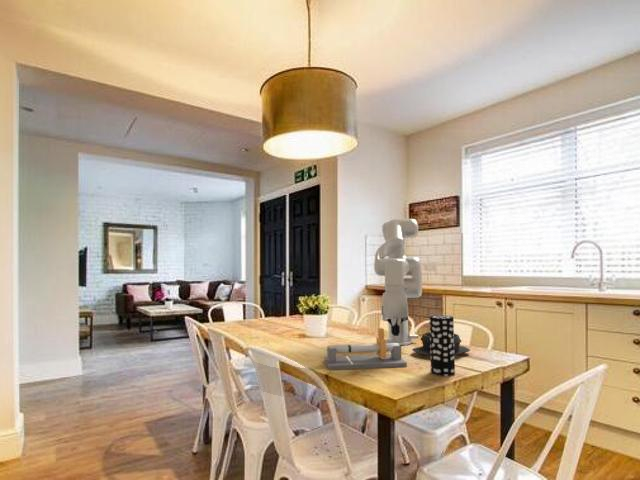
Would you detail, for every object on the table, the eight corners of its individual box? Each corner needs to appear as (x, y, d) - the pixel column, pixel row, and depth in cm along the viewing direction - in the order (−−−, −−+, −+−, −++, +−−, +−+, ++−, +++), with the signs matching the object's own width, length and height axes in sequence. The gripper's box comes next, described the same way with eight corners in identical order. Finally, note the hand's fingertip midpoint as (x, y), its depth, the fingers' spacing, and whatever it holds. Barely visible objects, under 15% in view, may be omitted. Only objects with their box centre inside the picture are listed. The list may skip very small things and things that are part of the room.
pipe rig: (395, 357, 164) (395, 339, 165) (406, 366, 150) (406, 346, 151) (324, 360, 161) (324, 341, 161) (329, 369, 147) (328, 349, 148)
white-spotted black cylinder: (428, 369, 146) (427, 315, 147) (451, 369, 146) (449, 315, 147) (434, 376, 138) (432, 318, 139) (458, 376, 137) (456, 318, 138)
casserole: (453, 347, 182) (452, 329, 182) (480, 357, 164) (479, 336, 165) (404, 351, 175) (404, 332, 175) (427, 362, 157) (426, 340, 158)
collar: (381, 354, 160) (381, 326, 161) (386, 358, 153) (385, 329, 154) (376, 354, 160) (376, 327, 161) (381, 358, 153) (380, 330, 154)
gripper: (409, 288, 163) (410, 333, 162) (374, 289, 162) (374, 334, 161) (415, 289, 156) (416, 336, 155) (378, 290, 154) (379, 337, 153)
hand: (395, 335), depth 158 cm, fingers closed
